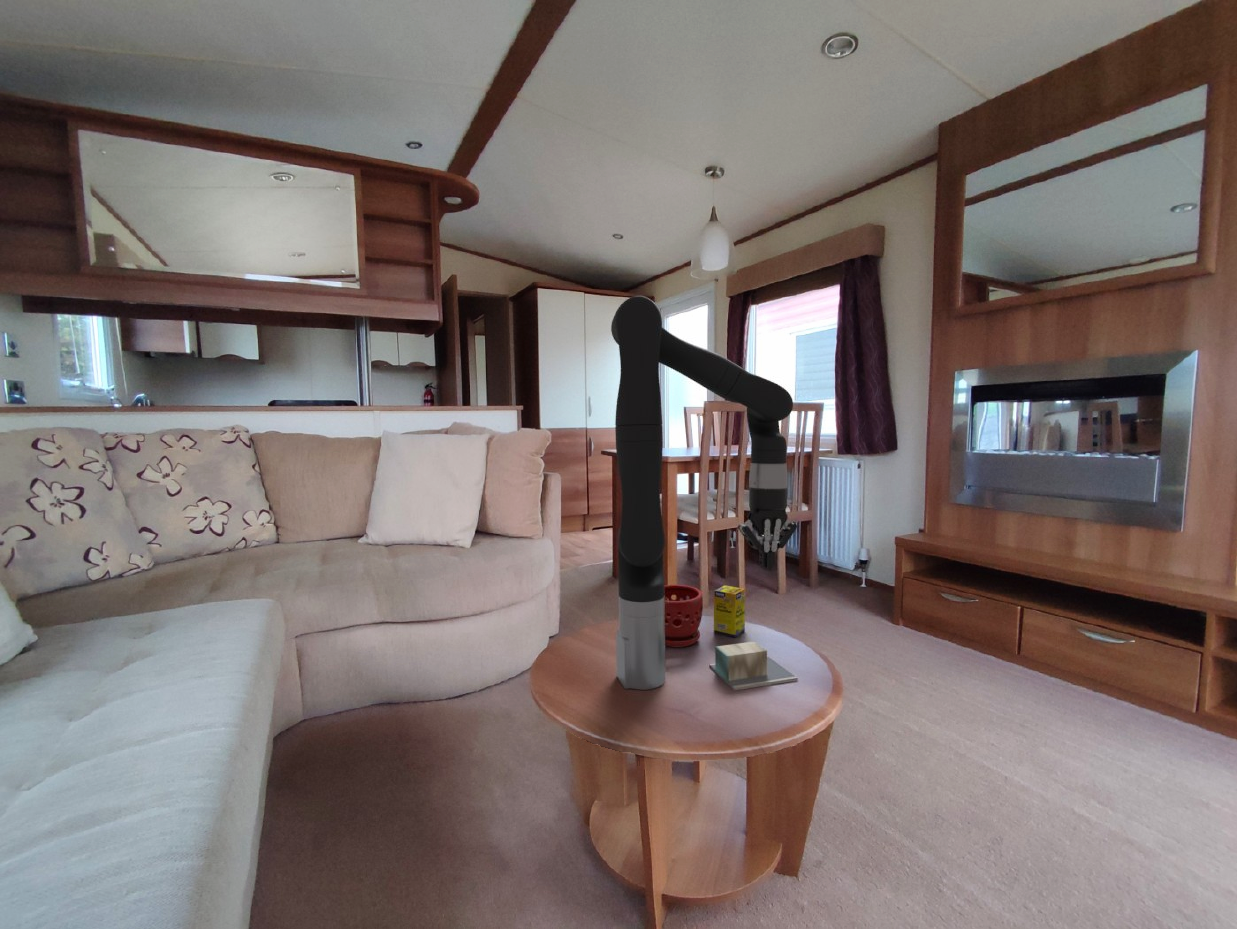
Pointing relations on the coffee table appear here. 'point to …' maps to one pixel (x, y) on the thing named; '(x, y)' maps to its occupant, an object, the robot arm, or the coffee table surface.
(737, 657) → the birch block
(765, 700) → the coffee table surface
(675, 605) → the plant pot
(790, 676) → the felt mat
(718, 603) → the supplement box
